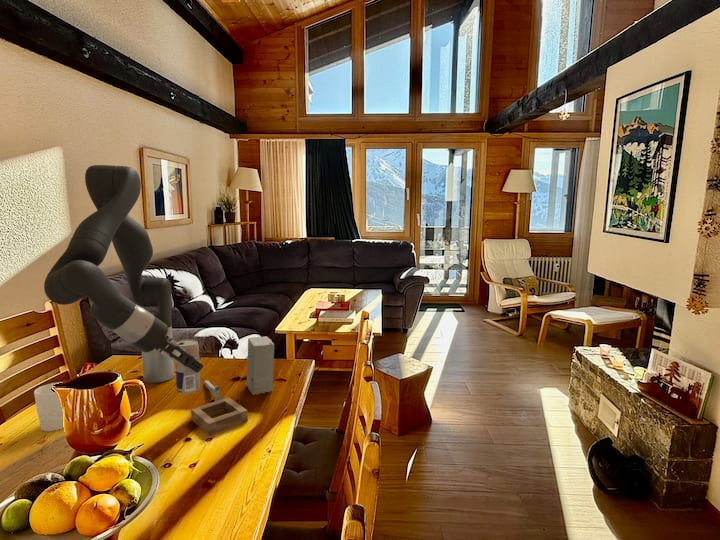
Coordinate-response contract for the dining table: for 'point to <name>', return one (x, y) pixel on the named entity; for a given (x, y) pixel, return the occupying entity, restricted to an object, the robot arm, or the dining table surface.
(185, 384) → the energy drink
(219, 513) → the dining table surface
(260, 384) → the skincare box
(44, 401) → the white cup
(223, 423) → the square open tray
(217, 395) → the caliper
